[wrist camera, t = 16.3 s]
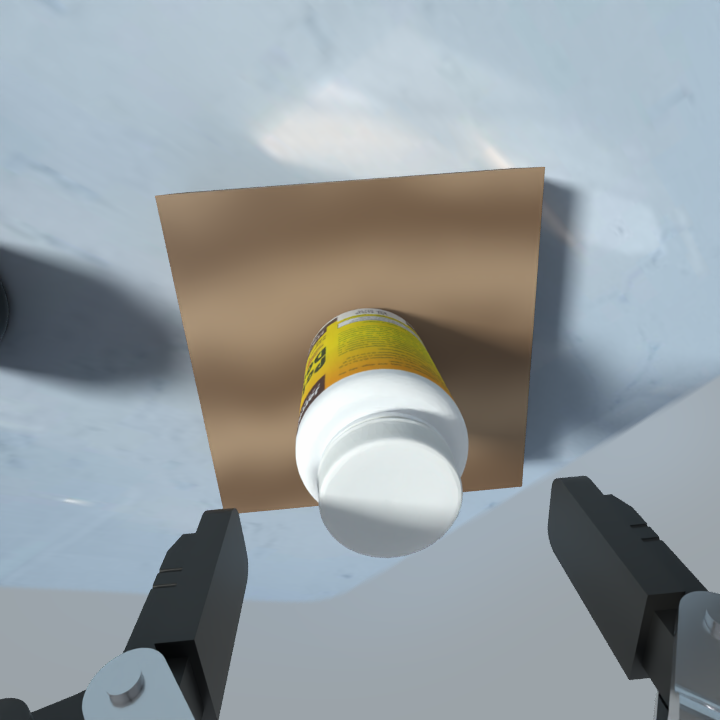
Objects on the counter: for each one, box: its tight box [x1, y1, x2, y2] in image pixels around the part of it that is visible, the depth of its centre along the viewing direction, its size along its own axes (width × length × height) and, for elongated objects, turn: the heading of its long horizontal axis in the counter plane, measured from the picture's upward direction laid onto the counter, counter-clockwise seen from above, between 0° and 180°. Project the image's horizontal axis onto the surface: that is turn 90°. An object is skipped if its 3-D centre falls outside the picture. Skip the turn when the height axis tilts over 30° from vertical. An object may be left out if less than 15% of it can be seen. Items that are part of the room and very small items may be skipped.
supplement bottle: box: [296, 308, 468, 558], centre depth 17 cm, size 6×6×10 cm
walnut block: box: [155, 167, 545, 513], centre depth 24 cm, size 16×16×4 cm
